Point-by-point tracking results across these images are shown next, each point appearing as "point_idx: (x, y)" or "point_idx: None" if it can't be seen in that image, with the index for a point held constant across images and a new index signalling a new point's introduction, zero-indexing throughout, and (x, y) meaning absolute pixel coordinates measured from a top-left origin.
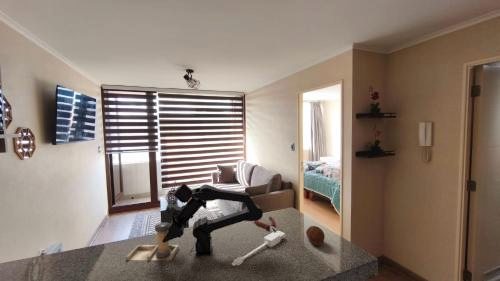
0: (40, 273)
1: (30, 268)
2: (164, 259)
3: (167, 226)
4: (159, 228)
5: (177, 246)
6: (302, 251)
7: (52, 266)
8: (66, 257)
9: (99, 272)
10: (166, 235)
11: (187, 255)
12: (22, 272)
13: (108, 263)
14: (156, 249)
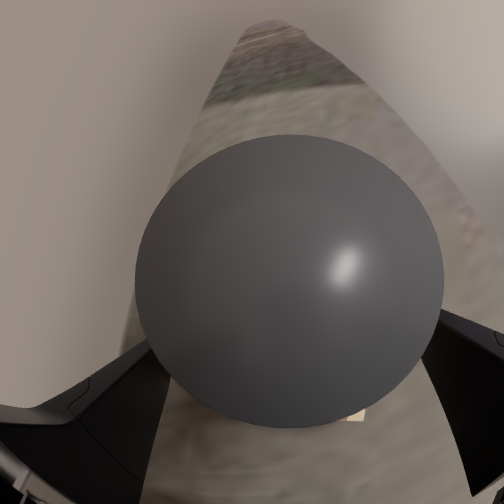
0: (244, 45)
1: (267, 32)
2: None
3: (201, 391)
4: (148, 236)
5: (343, 418)
6: None
7: (269, 46)
8: (306, 47)
9: (213, 122)
10: (87, 382)
11: (282, 477)
12: (254, 32)
13: (265, 119)
14: None
